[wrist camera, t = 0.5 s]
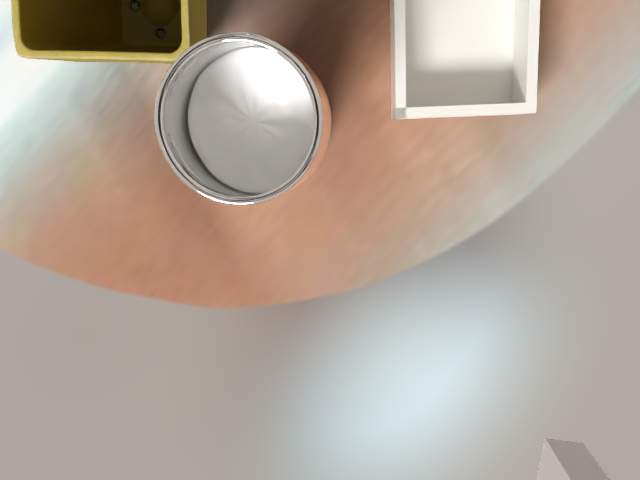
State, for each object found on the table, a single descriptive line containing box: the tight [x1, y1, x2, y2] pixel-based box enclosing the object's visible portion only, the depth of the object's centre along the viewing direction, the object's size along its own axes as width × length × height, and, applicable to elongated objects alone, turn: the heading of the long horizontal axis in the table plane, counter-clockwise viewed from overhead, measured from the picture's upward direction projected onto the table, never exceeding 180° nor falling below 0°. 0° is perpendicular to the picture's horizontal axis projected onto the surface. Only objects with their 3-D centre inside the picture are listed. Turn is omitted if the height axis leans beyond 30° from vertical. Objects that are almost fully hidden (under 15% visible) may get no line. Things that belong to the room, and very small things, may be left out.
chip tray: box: [390, 0, 540, 119], centre depth 33 cm, size 12×8×3 cm, turn 2°
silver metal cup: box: [155, 32, 331, 205], centre depth 29 cm, size 7×7×15 cm
